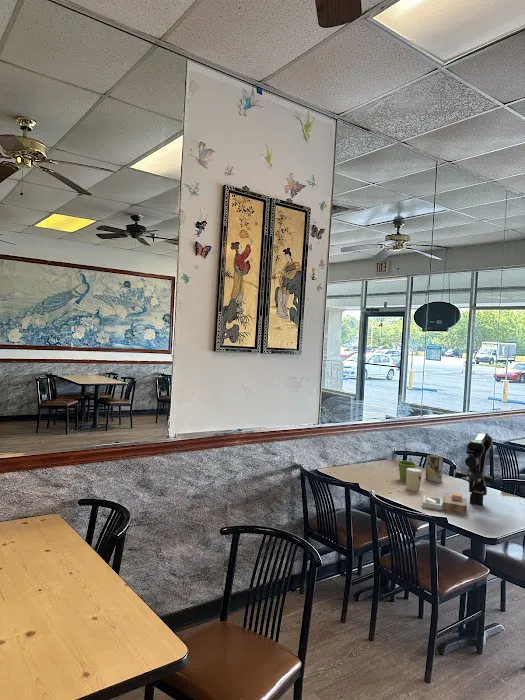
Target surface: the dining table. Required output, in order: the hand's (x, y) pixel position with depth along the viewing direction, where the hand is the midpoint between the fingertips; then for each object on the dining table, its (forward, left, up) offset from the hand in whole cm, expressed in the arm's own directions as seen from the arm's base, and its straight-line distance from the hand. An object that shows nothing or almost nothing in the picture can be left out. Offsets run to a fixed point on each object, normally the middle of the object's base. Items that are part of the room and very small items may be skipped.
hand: (472, 492), depth 269 cm
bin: (+20, +4, -10) cm, 23 cm away
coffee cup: (+32, -23, -10) cm, 41 cm away
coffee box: (+21, -53, -10) cm, 58 cm away
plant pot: (+38, -42, -10) cm, 58 cm away
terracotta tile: (+7, 0, -5) cm, 9 cm away
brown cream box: (+8, +4, -10) cm, 14 cm away
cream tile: (+21, +6, -6) cm, 22 cm away
